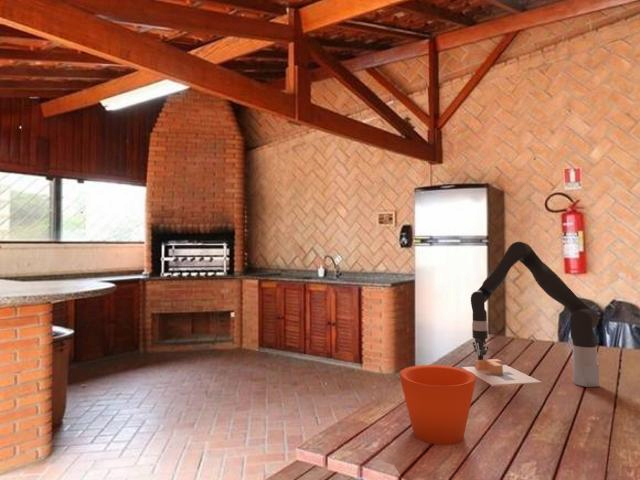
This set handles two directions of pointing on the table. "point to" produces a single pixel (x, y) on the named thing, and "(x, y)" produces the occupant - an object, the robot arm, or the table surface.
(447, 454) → the table surface
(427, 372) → the flowerpot
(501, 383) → the board
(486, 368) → the t block
